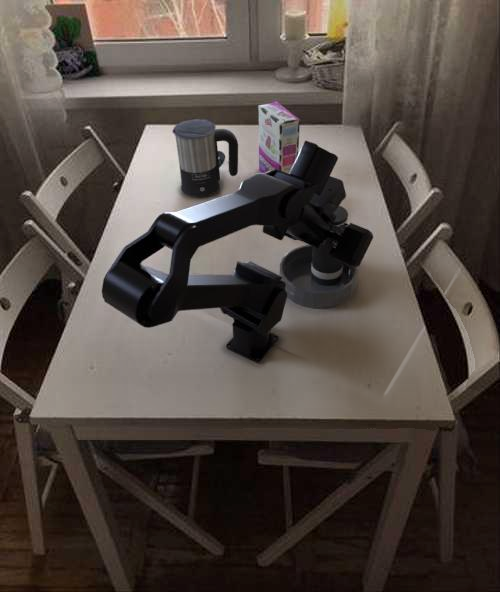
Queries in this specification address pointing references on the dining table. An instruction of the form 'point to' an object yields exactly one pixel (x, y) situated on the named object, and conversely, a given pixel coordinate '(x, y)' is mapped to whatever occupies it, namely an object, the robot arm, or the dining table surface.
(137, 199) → the dining table surface
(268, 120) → the candy bar box
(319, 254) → the canister
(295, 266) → the pan
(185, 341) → the dining table surface
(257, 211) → the robot arm
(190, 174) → the milk frother
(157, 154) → the dining table surface
